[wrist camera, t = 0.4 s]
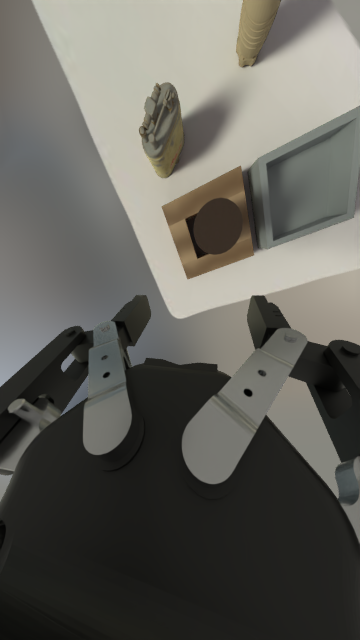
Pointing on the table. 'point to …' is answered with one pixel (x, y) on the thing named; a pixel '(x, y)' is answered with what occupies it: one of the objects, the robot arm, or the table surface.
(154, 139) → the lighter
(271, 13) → the handle
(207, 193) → the holder
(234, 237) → the deodorant
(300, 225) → the bin
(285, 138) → the table surface
